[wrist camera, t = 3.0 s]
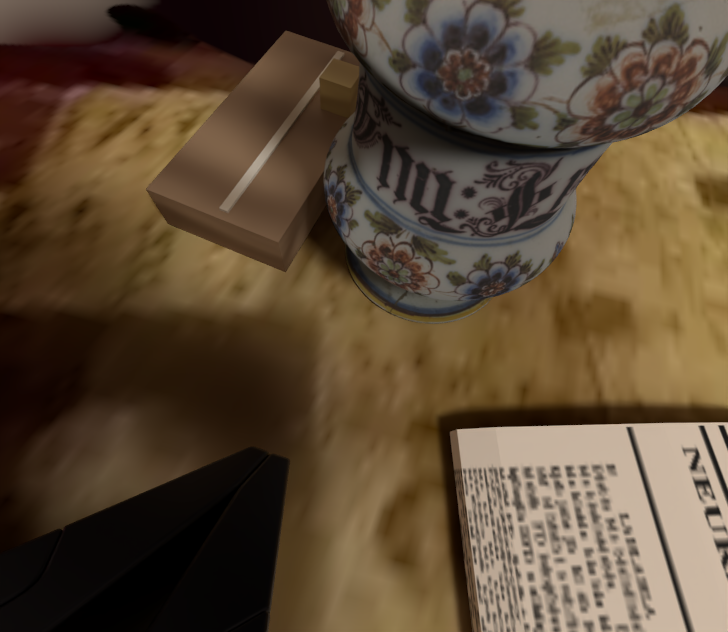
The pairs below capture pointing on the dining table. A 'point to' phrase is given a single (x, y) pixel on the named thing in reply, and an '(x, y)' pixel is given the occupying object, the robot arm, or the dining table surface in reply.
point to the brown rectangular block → (263, 153)
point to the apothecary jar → (495, 131)
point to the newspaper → (595, 527)
